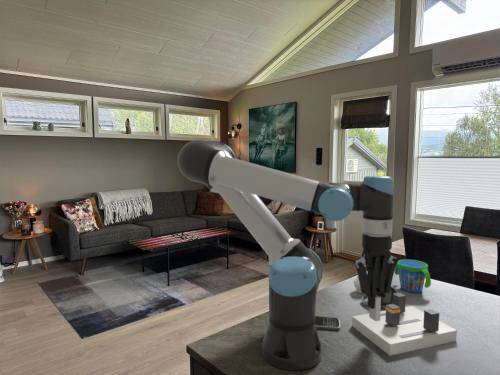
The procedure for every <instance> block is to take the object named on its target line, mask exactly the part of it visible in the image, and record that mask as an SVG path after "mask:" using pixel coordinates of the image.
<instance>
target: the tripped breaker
mask: <svg viewBox="0 0 500 375" xmlns="http://www.w3.org/2000/svg"><path fill="white" fill-rule="evenodd" d="M385 311H386V321H385V322H386V323H387V324H389V325H391V326H397V325H399V321H400V307H398V306H396V305H394V304H390V305H386V308H385Z"/></svg>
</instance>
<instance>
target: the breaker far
mask: <svg viewBox="0 0 500 375" xmlns="http://www.w3.org/2000/svg"><path fill="white" fill-rule="evenodd" d="M406 297H407V296H406V295H405V294H403V293H401V292H398V293H394V294H393V301H392V304H394V305H396V306H398V307H400V313H402V312H405V307H406V303H407V302H406V300H407V298H406Z"/></svg>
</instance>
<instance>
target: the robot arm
mask: <svg viewBox="0 0 500 375" xmlns="http://www.w3.org/2000/svg"><path fill="white" fill-rule="evenodd" d="M177 167H178V169H179V171H180V173H181V174H182V176H184V178H186V179H187V180H189V181H192V182H195V183H198V184H199V183H200V184H203V185H205V186H206V187H207V188H208V189H209V191H210V192H211V193H214V194H215V193H216V194H219V196H221V197H222V199H223V200H224V202H225V203H226V205H228V206H229V208H230V209H231V211H232V212H233V213H234V214H235V215H236V217H237V218H238V219H239V221H240V222H241V223H242V224H243V225H244V227H245V228H246V229H247V230H248V232H249V233H250V234H251V236H252V237H253V238H254V239H255V241H256V242H257V244H259V245H260V247H261V248H262V250H263V251H264V252H265V253H266V255H267V256H268V266H269V272H268V324H267V327H266V329H265V333H264V336H263V339H262V342H261V354H262V357H263V358H264V360H265V362H267V363H268V364H270V365H272V366H274V367H276V368H278V369H282V370H287V371H305V370H308V369H312V368H313V367H316V366H317V365H318V364H319V363H320V362H321V360H322V357H323V347H322V342H321V340H320V339H321V338H320V337H319V333H318V329H317V328H316V326H315V316H316V302H317V301H316V299H317V298H316V297H317V292H318V290H319V286H320V283H321V281H322V278H323V273H324V272H323V271H324V269H323V264H322V261H321V258H320V257H319V255H318V254H317V253H316V251H314V250H313V249H310V248H307V247H306V246H305V244H304V243H303V242H302V241H301V240H300V238H294V237H291V235H290V234H289V233H288V232H287V230H286V229H285V228H284V226H283V225H282V224H281V222H279V220H278V219H277V217H275V215H274V213H272V212H271V210H270V209H269V208H268V207H267V206H266V204H265V203H264V202H263V200H262V199H261V198H260V197H262V198H265V199H269V200H272V201H276V202H278V203H282V204H286V205H287V206H288V205H289V206H292V207H296V208H299V209H303V210H306V211H308V212H311V213H312V212H313V213H315V214H318V215H322V217H323V218H325V219H326V220H327V221H331V222H332V221H333V222H339V221H343V220H345V219H346V218H347V217H348V216H349V215H350V214H351V212H362V223H361V224H362V227H361V232H363V233H362V236H361V238H362V239H361V246H362V249H363V250H362V252H361V256H360V258H359V259H358V260H357V259H354V261H353V264H354V266H355V268H356V271H357V276H358V277H359V282H360V288H361V292H362V293H361V294H363V295H366V296H368V298H367V301H368V306H367V307H368V309H369V312H368V314H369V317H370V318H371V319H373V320H374V321H380V312H381V311H382V310H381V308H382V305H383V298H385V297H386V295H385V293H389V292H390V287H391V286H392V283H393V278H394V274H395V273H394V270H395V266H396V264H397V263H398V261H399V258H398V257H395V256H394V255H392V252H391V250H392V249H393V236H392V234H393V223H394V222H393V218H394V216H393V215H394V199H395V198H394V197H395V196H394V195H395V193H394V179H393V178H392V177H391V176H386V175H366V176H364V177H363V180H362V182H360V183H351V182H350V183H347V182H332V181H331V182H321V181H318V180H314V179H310V178H306V177H304V176H300V175H297V174H292V173H289V172H286V171H282V170H278V169H274V168H270V167H267V166H264V165H260V164H257V163H252V162H249V161H246V160H242V159H239V158H236V154H235V153H234V151H233V149H232V148H231V147H230V146H228V145H227V144H225V143H223V142H221V141H217V140H213V141H212V140H211V141H209V140H203V139H196V140H191V141H188V142H187V143H186V144H184V145H183V146H182V148H180V149H179V152H178V154H177Z"/></svg>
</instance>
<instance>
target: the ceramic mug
mask: <svg viewBox="0 0 500 375" xmlns="http://www.w3.org/2000/svg"><path fill="white" fill-rule="evenodd" d="M394 293H399V292H398V290H397V289H396V288H395V287H394V286H393V285H391V287H390V292H389V293H385V295H386V297H385V298H383V305H382V307H381V308H383V309H386V305H390V304H392V301H393V294H394ZM366 299H367V301H366ZM361 302H362V305H364V306H367V307H368V296H366V295H365V294H363V295H362V296H361Z"/></svg>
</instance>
